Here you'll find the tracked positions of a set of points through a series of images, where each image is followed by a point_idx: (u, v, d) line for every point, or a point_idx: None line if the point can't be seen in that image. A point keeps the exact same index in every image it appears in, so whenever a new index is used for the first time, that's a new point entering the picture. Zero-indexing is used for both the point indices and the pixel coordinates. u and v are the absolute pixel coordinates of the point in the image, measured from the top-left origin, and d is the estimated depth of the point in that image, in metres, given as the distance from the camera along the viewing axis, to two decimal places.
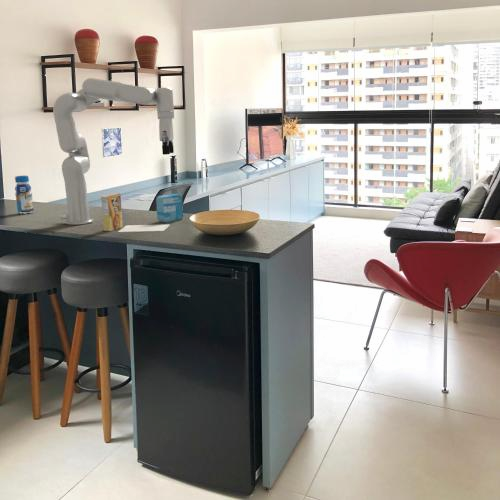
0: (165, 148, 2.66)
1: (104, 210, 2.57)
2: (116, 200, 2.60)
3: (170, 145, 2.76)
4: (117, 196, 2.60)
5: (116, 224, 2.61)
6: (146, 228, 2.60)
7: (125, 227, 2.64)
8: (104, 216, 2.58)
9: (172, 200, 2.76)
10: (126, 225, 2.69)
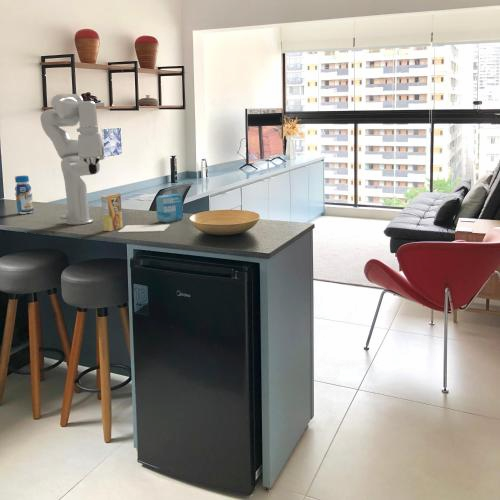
0: (96, 167, 2.57)
1: (104, 210, 2.57)
2: (116, 200, 2.60)
3: None
4: (117, 196, 2.60)
5: (116, 224, 2.61)
6: (146, 228, 2.60)
7: (125, 227, 2.64)
8: (104, 216, 2.58)
9: (172, 200, 2.76)
10: (126, 225, 2.69)
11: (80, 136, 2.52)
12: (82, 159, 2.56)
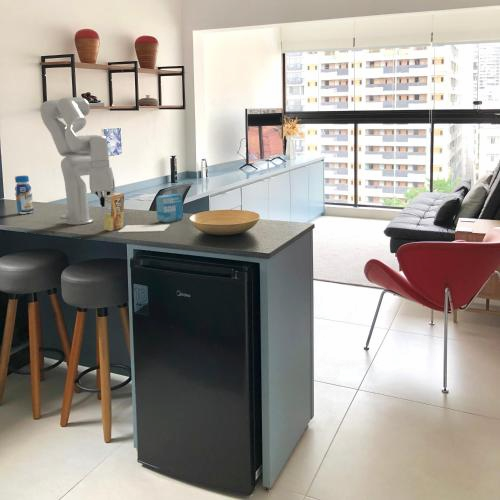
0: None
1: (106, 209, 2.56)
2: (119, 200, 2.59)
3: None
4: (121, 196, 2.60)
5: (117, 224, 2.61)
6: (146, 228, 2.60)
7: (125, 227, 2.64)
8: (106, 215, 2.57)
9: (172, 200, 2.76)
10: (126, 225, 2.69)
11: (91, 170, 2.55)
12: (93, 192, 2.59)
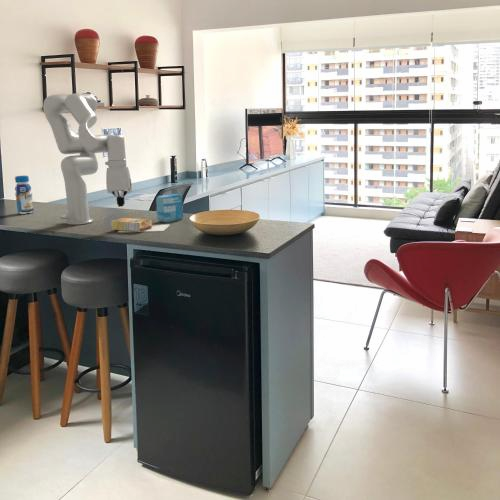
0: (123, 199, 2.59)
1: (127, 225, 2.54)
2: None
3: None
4: None
5: None
6: None
7: None
8: (122, 224, 2.55)
9: (172, 200, 2.76)
10: None
11: (108, 169, 2.54)
12: (110, 192, 2.58)
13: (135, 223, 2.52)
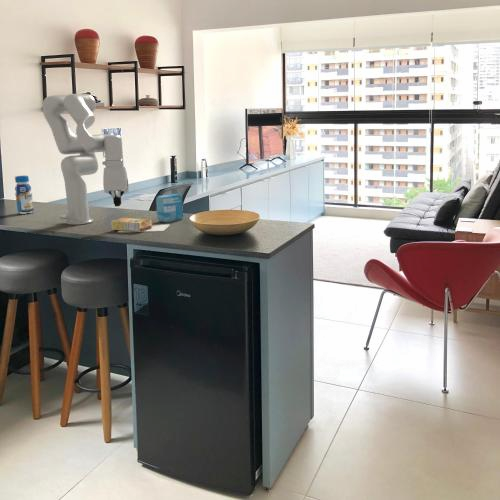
0: (120, 199, 2.60)
1: (127, 225, 2.54)
2: None
3: None
4: None
5: None
6: None
7: None
8: (122, 224, 2.55)
9: (172, 200, 2.76)
10: None
11: (106, 169, 2.54)
12: (107, 192, 2.59)
13: (135, 223, 2.52)
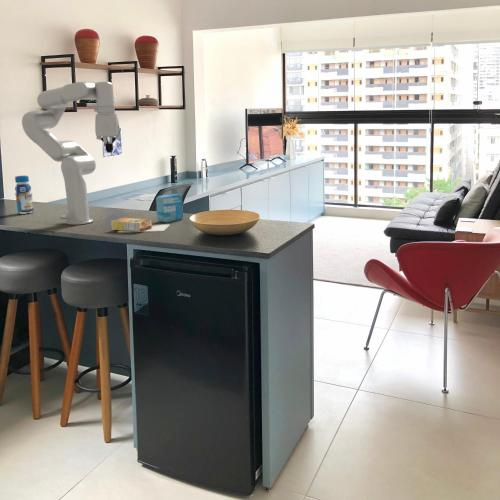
0: (112, 146, 2.65)
1: (127, 225, 2.54)
2: None
3: None
4: (147, 228, 2.58)
5: None
6: None
7: None
8: (122, 224, 2.55)
9: (172, 200, 2.76)
10: None
11: (97, 116, 2.60)
12: (99, 138, 2.64)
13: (135, 223, 2.52)
